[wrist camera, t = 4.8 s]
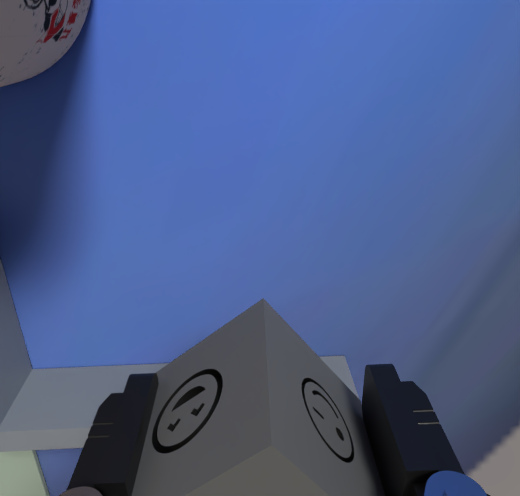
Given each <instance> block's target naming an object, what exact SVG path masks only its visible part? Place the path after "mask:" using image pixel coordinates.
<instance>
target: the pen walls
mask: <svg viewBox="0 0 520 496" xmlns="http://www.w3.org/2000/svg"><path fill="white" fill-rule="evenodd" d="M320 358H321V359H322V361H323V362H324V363H325V364H326V365H327V366H328V367H329V368H330V369H331V370H332V371H333V372H334V373H335V374H336V375H337V376H338V377H339V378H340V379H341V381H342V382H343V383H344V384H345V385H346V386H347V387H348V388H349V389H350V390H351V391H352V392H353V393H354V394H355V395H356V396H357V397H358V394H357V391H356V388H355V385H354V382H353V379H352V377H351V374H350V371H349V368H348V365H347V362H346V359H345V356H324V357H320ZM167 364H169V363H164V364H141V365H118V366H95V367H72V368H49V369H32V366H31V363H30V359H29V356H28V352H27V349H26V345H25V342H24V338H23V335H22V331H21V328H20V324H19V321H18V318H17V314H16V311H15V307H14V304H13V300H12V297H11V293H10V290H9V286H8V283H7V279H6V276H5V272H4V269H3V265H2V262H1V259H0V452H10V451H29V450H48V449H68V448H83V447H84V444H85V442H86V439H88V434H89V431H90V429H91V426H93V421H94V418H95V416H96V413H97V410H98V408H99V406H100V405H101V404H102V403H103V402H104V401H105V400H106V398H107V397H108V396H109V395H110V394H111V393H123V392H124V389H125V386H126V383H127V380H128V377H129V375H130V374H143V373H156V372H157V371H159V370H160V369H162V368H163V367H165V366H166V365H167ZM358 398H359V397H358Z"/></svg>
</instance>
